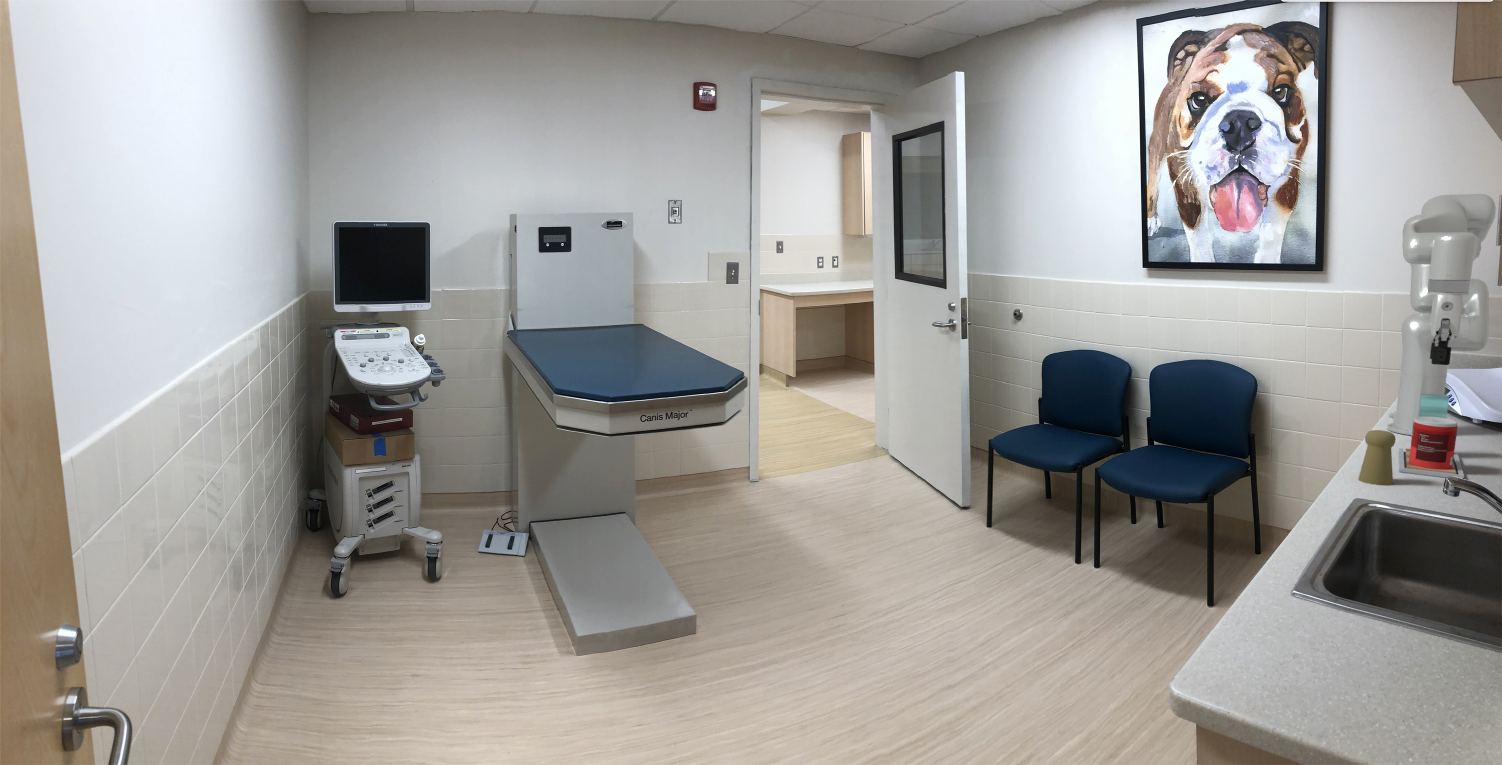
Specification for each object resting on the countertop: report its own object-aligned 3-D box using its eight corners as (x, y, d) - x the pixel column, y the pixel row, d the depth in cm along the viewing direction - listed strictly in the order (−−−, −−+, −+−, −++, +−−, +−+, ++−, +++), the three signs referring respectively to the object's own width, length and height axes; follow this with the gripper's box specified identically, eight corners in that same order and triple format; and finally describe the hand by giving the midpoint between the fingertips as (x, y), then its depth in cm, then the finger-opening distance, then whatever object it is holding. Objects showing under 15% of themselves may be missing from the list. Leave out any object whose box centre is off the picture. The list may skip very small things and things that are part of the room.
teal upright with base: (1455, 474, 185) (1463, 411, 183) (1406, 468, 190) (1413, 406, 188) (1450, 454, 202) (1458, 396, 200) (1405, 449, 207) (1412, 392, 205)
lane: (1463, 479, 183) (1464, 475, 183) (1399, 472, 189) (1399, 468, 189) (1457, 458, 200) (1457, 454, 200) (1398, 451, 207) (1399, 448, 207)
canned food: (1435, 463, 195) (1441, 416, 193) (1461, 473, 187) (1467, 424, 185) (1399, 463, 196) (1405, 416, 194) (1423, 472, 188) (1429, 424, 186)
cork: (1381, 486, 179) (1387, 435, 177) (1351, 479, 184) (1357, 429, 182) (1399, 483, 181) (1405, 432, 179) (1369, 476, 187) (1374, 426, 185)
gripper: (1472, 290, 187) (1462, 367, 189) (1467, 286, 200) (1457, 359, 203) (1428, 289, 191) (1419, 365, 194) (1426, 285, 205) (1417, 356, 207)
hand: (1439, 361), depth 198 cm, fingers open, 9 cm apart
